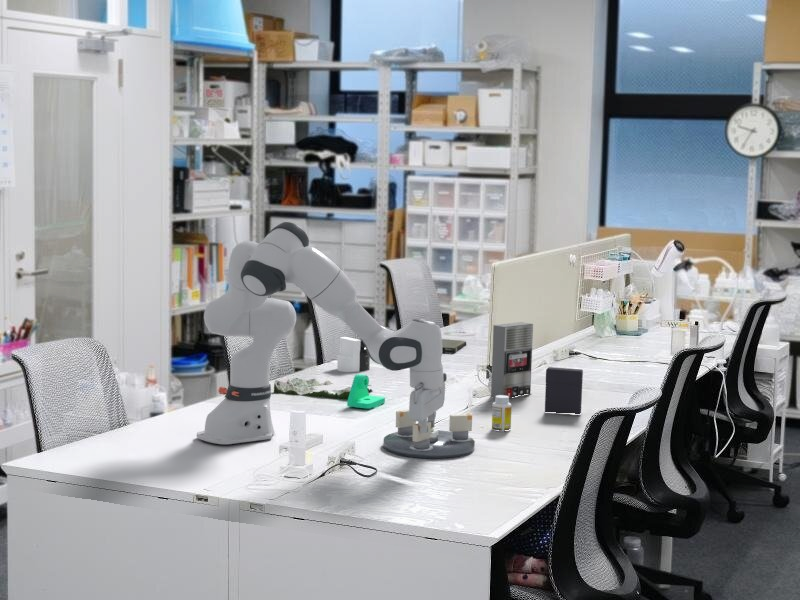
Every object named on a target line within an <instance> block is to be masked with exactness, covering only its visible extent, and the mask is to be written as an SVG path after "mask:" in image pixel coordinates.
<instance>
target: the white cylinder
mask: <svg viewBox="0 0 800 600" xmlns="http://www.w3.org/2000/svg"><path fill="white" fill-rule="evenodd" d="M336 361H337V364H336V365H337V367H336V368H337V371H338V372H343V373H355V372H356V373H357V372H360V371H359V367H360V340H358V339H357V338H352V337H348V336H342V337H339V353H337V360H336Z"/></svg>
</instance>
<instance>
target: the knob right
mask: <svg viewBox="0 0 800 600" xmlns="http://www.w3.org/2000/svg"><path fill="white" fill-rule="evenodd" d="M448 423H449V424H448V425H449V428H448V429H449V430H448V431H449V432H452V438H453V439H457V440H465V439H468V436H469V432H472V430H473V415H472V414H471V413H468V414H466V413H465V414H449V422H448Z"/></svg>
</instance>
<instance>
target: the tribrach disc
mask: <svg viewBox="0 0 800 600" xmlns="http://www.w3.org/2000/svg"><path fill="white" fill-rule="evenodd" d="M429 439H430V448H427V449H418V448H414V447H413V434H412V435H400V434H398V431H396V432H392V433H389V434H387V435H386V436H384V437H383V443H382V444H383V445H382V446H383V449H384V450H385V451H387V452H388V453H390V454H393V455H396V456H400V457H406V458H411V459H421V460H422V459H423V460H424V459H425V460H444V459H445V460H446V459H447V460H448V459H455V458H461V457H465V456H468V455H470V453H471V454H473V453H474V451H475V440H474V439H473V438H472V437H471V436H469V435H468V439H465V440H457V439H453V438H452V432H451V431H449V430H437V429H434V428H432V429H431V438H429Z"/></svg>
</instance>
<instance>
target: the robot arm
mask: <svg viewBox="0 0 800 600" xmlns="http://www.w3.org/2000/svg"><path fill="white" fill-rule="evenodd" d="M309 245H310V239H309V236H308V235H307V233H306V231H305V230H304V229H303V228H302V227H301V226H299V225H298V224H296V223H294V222H290V221H283V222H281V223H278V224H277V225H276V226H274V227H273V228H272V229H271V230H270V231H268V232H267V233H266V234H265V237H264V238H263V239H262V240H261V242H259V243H258V242H256V241H253V240H245V241H241V242H239V243H237V244H236V245H235V246H234V247H233V248H232V251H231V253H230V257H229V263H228V287H227V291H225V292H224V293H223V294H222V295H221V296H219V297H216V298H214V299H212V300H211V301H210V302H208V304H207V306H206V307H205V309H204V313H203V320H204V324H205V327H206V328H207V330H208V331H209V332H210V333H211V334H214V335H218V336H224V337H243V338H244V337H251V338H252V339H253V340H252V342H251V344H250V345H248V346H246V347H243V348H242V349H240V350H238V351H236V352H234V354H232V357H231V359H230V371H229V372H230V373H229V374H230V375H229V376H230V377H229V379H230V381H229V384H228V386H227V388H226V387H223V386H220V387H218V389H217V392H218V393H219V394H221V395H224V399H223V400H222V401H220V403H219V404H217V405H216V406H215V407H214V408H213V410H211V411H210V412H209V413H208V414H207V415H206V419H205V421H204V422H205V423H204V430H201V431H198V432H196V438H197V439H199V440H201V441H205V442H207V443H212V444H218V445H232V444H233V445H234V444H240V443H249V442H256V441H263V440H265V441H266V440H270V439H273V435H275V430H274V426H273V421H272V413H271V405H270V404H271V403H270V402H271V401H270V400H271V396H272V395H271V394H272V387H271V383H270V374H271V373H270V371H271V362H272V356H273V354H274V351H275V349H276V348H277V346H278V344H279V343H280V342H281V341H282V340H283V339H284V338H285V337H286V336H288V335H290V334H291V332H292V331H293V330H294V328H295V326H296V324H297V312H296V310H295V307H294V306H293V304H292V303H291V302H290V301H288V300H284V299H279V298H275V297H269V296H271V295H273V294H276V293H277V292H283V291H285V290H286V289H287V283H288V284H293V285H294V286H295V285H296V287H298V288H299V289H300V290H301V291H302V292H303V293H304V295H306V296H307V297H308V299H310V300H311V302H312V303H314V304H315V305H316V306H317V307H319V308H320V309H321V310H322V311H324V312H325V313H327V314H328V315H330V316H334V317H335V318H339V320H341V321H342V322H343V323H345V325H346V326H348V327H349V328H350V329H351V330H352V331H353V332H354V334H356V336H358V337H359V339H361V340H362V341H363V343H364V345H365V348H366V351H367V353H368V355H369V357H370V360H372V362H374V363H375V364H377V365H379V366H381V367H383V368H385V369H387V370H389V371H395V372H398V371H402V370H406V369H409V386H410V387H409V388H413V389H414V390H412V391H411V393H410V395H409V406H408V407H409V408H408V410H409V417H410V420H411V421H416V422H418V423H419V426H420V433H421V434H426V433H427V432H428V426H427V422H426V421H429V422H431V429H434V428H435V423H436V422H435V420H436V417H437V411H439V410H440V409H441V408H442V407H444V404H445V394H446V382H447V377H448V376H447V373H446V372H444V366H443V362H442V356H443V353H442V339H443V337H442V332H441V331H442V330H441V327H440V325H439V324H438V323H436V322H435V321H433V320H431V319H425V318H414V319H411V321H410V322H409V323H407V324H405V326H403V327H401V328H400V329H397V330H394V329H393V328H390V327H388V326H384V325H382V324H380V323H379V322H377V320H376V319H375V318H374V317H373V316H372V315H371V314H370V313H369V312H368V311H367V310H366V309H365V308H364V307H363V305H362V304H360V302H359V300H358V297H357V288H356V287H355V285H354V284H353V282H352V280H351V279H350V278H349V276H348V275H347V274H346V273H345V271H343V270H342V269H341V268H340V267H339V266H338V265H337V264H336V263H335V262H334V261H333V260H331V258H329V257H328V256H327V255H325V254H324V253H323V252H321V251H320V250H318V249H317V248H315V247H314V246H309Z"/></svg>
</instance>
